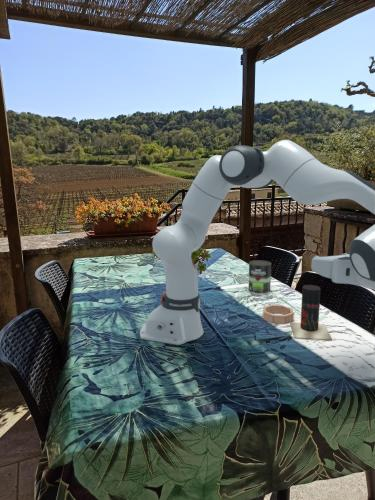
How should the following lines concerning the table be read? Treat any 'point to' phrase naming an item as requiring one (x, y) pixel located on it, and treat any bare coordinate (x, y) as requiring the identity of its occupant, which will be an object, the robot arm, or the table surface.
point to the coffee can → (259, 277)
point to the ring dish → (278, 318)
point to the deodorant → (310, 307)
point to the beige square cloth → (310, 332)
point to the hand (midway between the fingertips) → (329, 257)
